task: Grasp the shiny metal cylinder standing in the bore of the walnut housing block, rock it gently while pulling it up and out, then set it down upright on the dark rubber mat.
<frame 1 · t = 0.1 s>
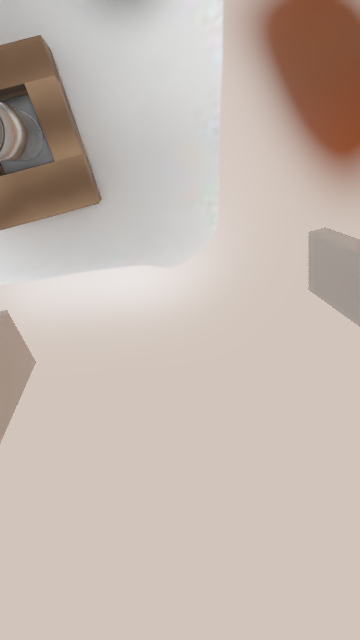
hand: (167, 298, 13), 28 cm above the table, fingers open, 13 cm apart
housing: (24, 146, 33), on the table
shiny metal cylinder: (20, 135, 32), resting in housing
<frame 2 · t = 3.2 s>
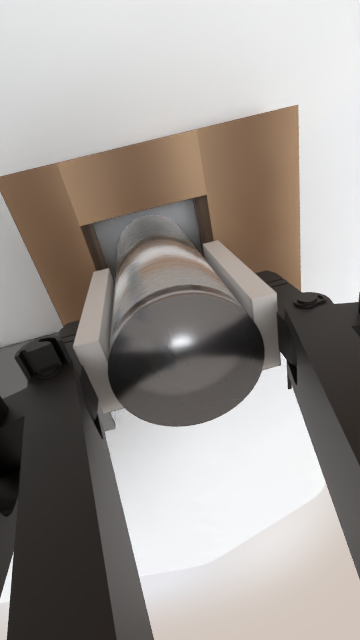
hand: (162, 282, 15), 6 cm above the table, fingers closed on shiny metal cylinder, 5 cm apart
mat: (33, 398, 24), on the table
housing: (168, 247, 20), on the table
shiny metal cylinder: (153, 251, 20), resting in housing, touching gripper
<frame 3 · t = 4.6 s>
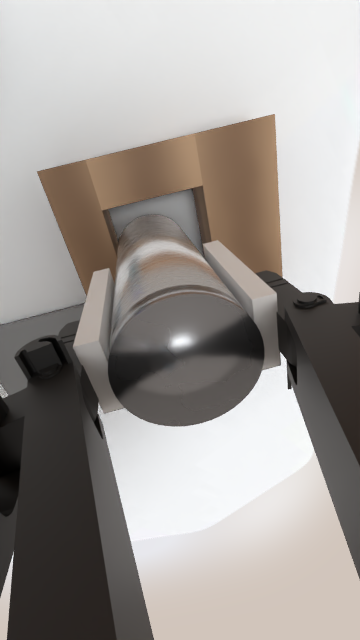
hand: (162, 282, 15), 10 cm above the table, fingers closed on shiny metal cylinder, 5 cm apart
mat: (55, 364, 28), on the table
housing: (171, 231, 24), on the table
shiny metal cylinder: (153, 251, 20), point 4 cm above the table, touching gripper
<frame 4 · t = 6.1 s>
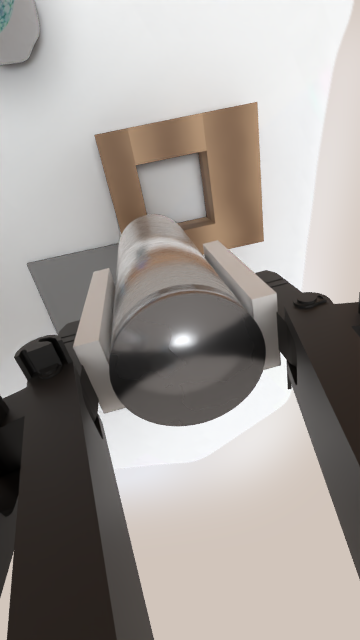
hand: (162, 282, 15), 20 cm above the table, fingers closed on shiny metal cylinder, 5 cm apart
mat: (87, 294, 36), on the table
housing: (182, 190, 32), on the table
shiny metal cylinder: (154, 250, 20), point 14 cm above the table, touching gripper
bottle: (4, 22, 25), on the table
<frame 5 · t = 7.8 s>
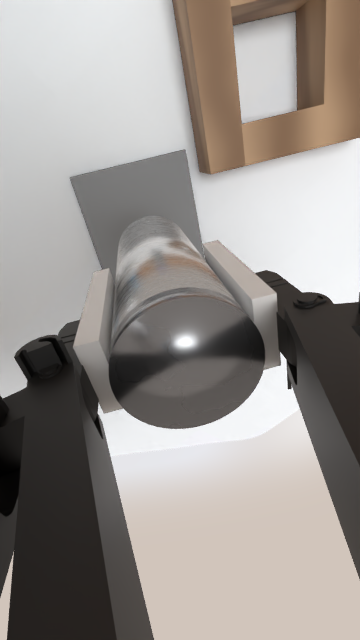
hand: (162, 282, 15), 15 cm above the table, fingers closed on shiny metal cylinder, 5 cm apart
mat: (143, 222, 28), on the table
housing: (270, 70, 25), on the table
shiny metal cylinder: (153, 252, 20), point 10 cm above the table, touching gripper
when the fingers open (8 cm above the table, at t = 9.4 s): shiny metal cylinder drops 1 cm, resting on mat.
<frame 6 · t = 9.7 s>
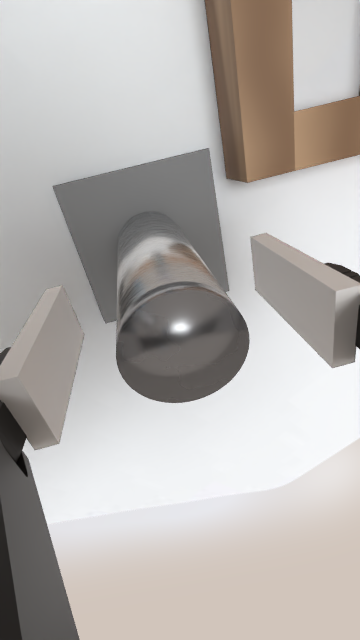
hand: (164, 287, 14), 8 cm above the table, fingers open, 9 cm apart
mat: (151, 243, 22), on the table
housing: (328, 39, 18), on the table
shiny metal cylinder: (151, 245, 21), resting on mat
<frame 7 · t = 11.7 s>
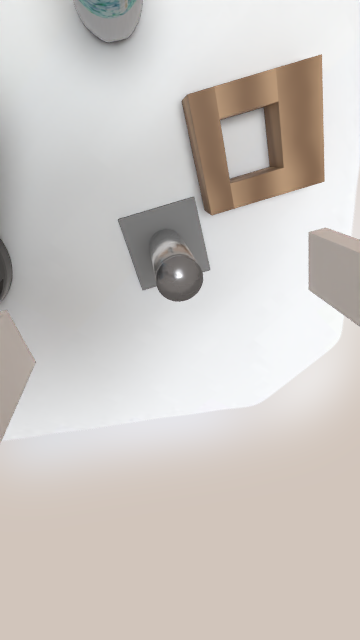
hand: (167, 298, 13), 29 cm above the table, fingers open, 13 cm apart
mat: (166, 245, 41), on the table
housing: (249, 143, 37), on the table
shiny metal cylinder: (166, 246, 41), resting on mat
bottle: (109, 6, 30), on the table
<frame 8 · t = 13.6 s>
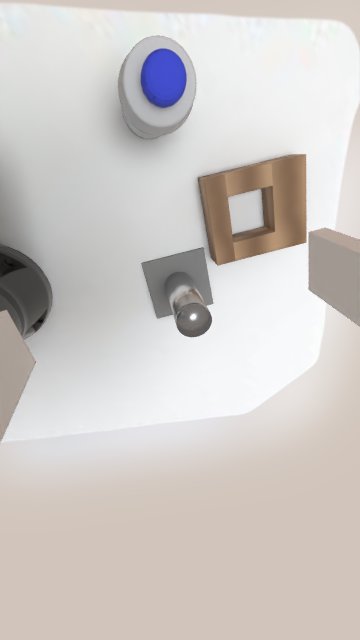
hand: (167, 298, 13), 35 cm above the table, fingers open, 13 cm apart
mat: (178, 284, 50), on the table
housing: (249, 209, 47), on the table
shiny metal cylinder: (179, 285, 50), resting on mat
bottle: (147, 111, 39), on the table
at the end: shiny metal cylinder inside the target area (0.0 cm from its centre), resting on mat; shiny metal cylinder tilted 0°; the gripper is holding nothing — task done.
